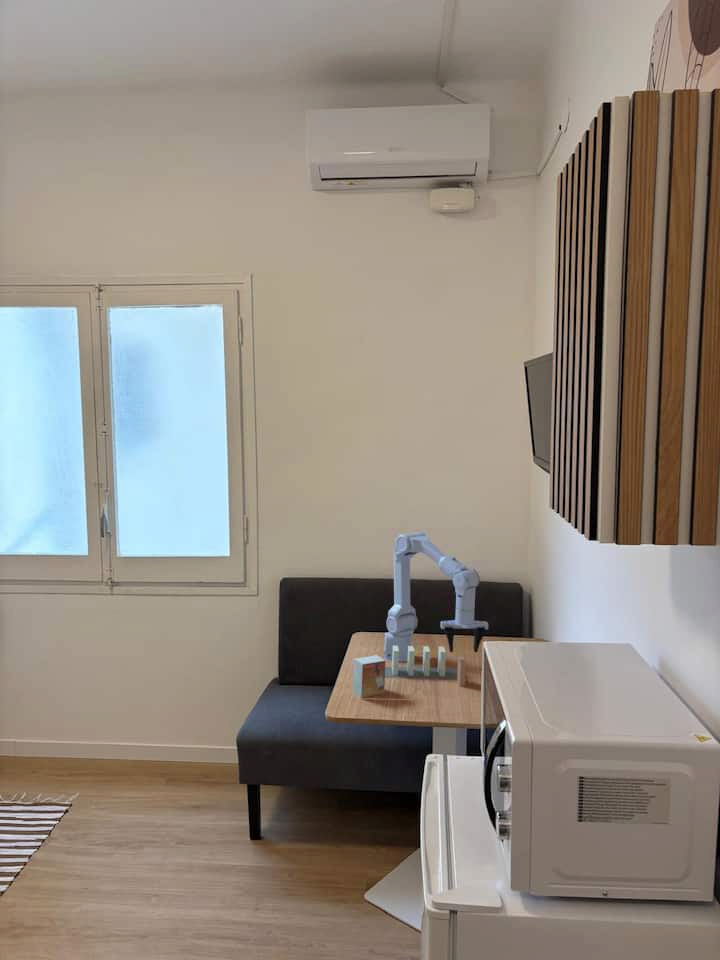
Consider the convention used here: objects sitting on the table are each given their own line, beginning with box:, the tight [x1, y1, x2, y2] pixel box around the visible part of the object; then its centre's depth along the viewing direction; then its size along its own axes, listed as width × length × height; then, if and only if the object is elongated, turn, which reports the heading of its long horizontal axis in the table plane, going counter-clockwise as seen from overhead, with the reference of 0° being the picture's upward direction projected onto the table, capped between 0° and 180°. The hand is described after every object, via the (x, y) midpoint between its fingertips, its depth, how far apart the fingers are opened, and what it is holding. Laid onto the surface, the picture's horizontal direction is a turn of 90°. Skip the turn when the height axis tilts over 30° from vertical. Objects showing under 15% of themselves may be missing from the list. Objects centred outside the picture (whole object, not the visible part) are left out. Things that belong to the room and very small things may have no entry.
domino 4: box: [437, 646, 447, 676], centre depth 220 cm, size 2×5×8 cm, turn 1°
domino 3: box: [422, 645, 431, 676], centre depth 220 cm, size 2×5×8 cm, turn 1°
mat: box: [385, 666, 458, 680], centre depth 220 cm, size 27×9×1 cm, turn 91°
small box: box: [352, 654, 386, 699], centre depth 203 cm, size 8×6×10 cm
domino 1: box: [391, 646, 400, 675], centre depth 220 cm, size 2×5×8 cm, turn 1°
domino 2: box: [406, 645, 415, 676], centre depth 220 cm, size 2×5×8 cm, turn 1°
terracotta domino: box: [456, 656, 467, 687], centre depth 212 cm, size 2×5×8 cm, turn 1°
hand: (463, 651), depth 212 cm, fingers open, 7 cm apart
